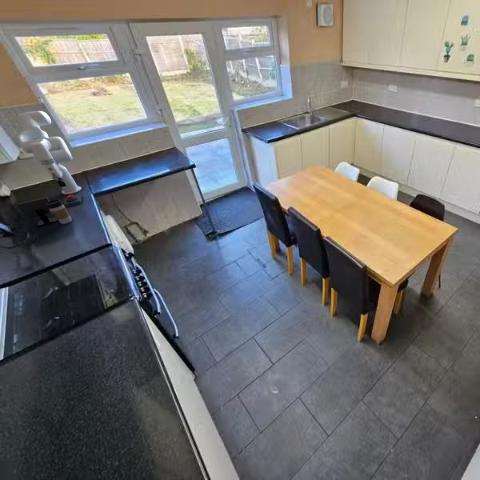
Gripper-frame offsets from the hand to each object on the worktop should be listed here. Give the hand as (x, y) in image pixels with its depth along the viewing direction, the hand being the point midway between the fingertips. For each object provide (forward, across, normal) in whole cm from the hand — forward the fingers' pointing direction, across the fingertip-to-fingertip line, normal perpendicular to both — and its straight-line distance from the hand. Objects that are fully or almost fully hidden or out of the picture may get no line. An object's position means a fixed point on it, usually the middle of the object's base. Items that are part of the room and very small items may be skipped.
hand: (63, 186), depth 193 cm
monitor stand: (+13, -23, +13) cm, 29 cm away
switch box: (+13, 0, 0) cm, 13 cm away
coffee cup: (+13, -30, +3) cm, 33 cm away
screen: (+7, -23, +13) cm, 27 cm away
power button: (+10, 0, 0) cm, 10 cm away
